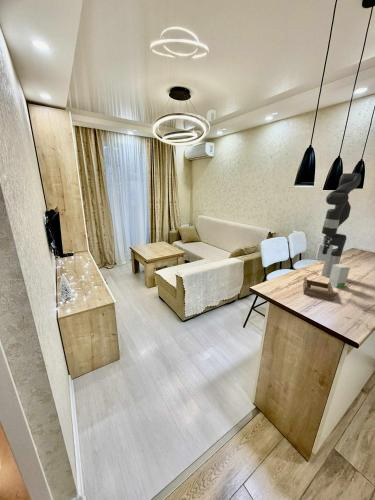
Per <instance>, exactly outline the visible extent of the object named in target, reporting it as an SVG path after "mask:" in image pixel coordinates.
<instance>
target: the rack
mask: <svg viewBox="0 0 375 500" xmlns="http://www.w3.org/2000/svg"><path fill="white" fill-rule="evenodd" d="M311 285H312V286H316V287H321V288H326V289H328V292H323V291H318V290H314V289H309V288H310V287H311ZM333 288H334V287H333V286H332V285H331V283H329V281H328V283H326V282H321V281H316V280H310V279H307V277H304V278H303V282H302V289H303V295H306V296H309V297H313V298H318V299H323V300H327V301H333V300H334V296H335V291H334V289H333Z"/></svg>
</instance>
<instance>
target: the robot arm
mask: <svg viewBox="0 0 375 500" xmlns="http://www.w3.org/2000/svg"><path fill="white" fill-rule="evenodd" d="M361 179H362V175H361V173H357V172H353V173H347V172H346V173H342V174H341V176H340V177H339V183H338V187H337V188H336V189H335V190H333V191H330V192H329V193H328V194H327V196H326V199H325V202H326V204H328V205H332V206H334V208H329V209H327V211H326V215H325V218H324V221H323V226H322V230H321V234H322V235H324V236H323V239H322V244H324V247H323V253H322V254H327V250H328V249H329V247H330V245H332V246H333V247H337V248H332V252H331V256H330V260H329V262H326V261H324V263H323V267H322V271H321V276H324V277H326V278H330V275H331V271H332V267H333V264H341V257H342V254H343V251H344V247H345V245H346V241H347V235H346V234H343V233H337V232H338V229H339V227H340V226H342V224H343V223H344V222H346V221H347V220H348V218H349V217H350V213H351V209H352V206H351V204H350V202H349V198H350V197H349V194H350V193H351V192H352V191H353V190H355V189H357V188H358V186H359V185H360V184H361V181H362V180H361ZM326 245H328V246H326Z"/></svg>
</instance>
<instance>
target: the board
mask: <svg viewBox="0 0 375 500" xmlns="http://www.w3.org/2000/svg"><path fill="white" fill-rule="evenodd" d="M326 246H328V245H326ZM323 247H324V244H323V243H319V244H318V248H317V252H316V257H315V259H316V261H320V262H321V261H322V262H325V261H326V262H329V260H330V256H331V252H332V249H334V246H333V245H330V247H329V249H328V250H327V254H322V253H323Z"/></svg>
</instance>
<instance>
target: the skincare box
mask: <svg viewBox="0 0 375 500" xmlns="http://www.w3.org/2000/svg"><path fill="white" fill-rule="evenodd" d="M350 269H351V266H348V265H346V264H341V263H339V264H333V267H332V271H331V275H330V277H328V278H329V279H328V282H329V283H331V285H332V288H335V289H341V288H345V287H346V283H347V279H348V276H349V272H350Z"/></svg>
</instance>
